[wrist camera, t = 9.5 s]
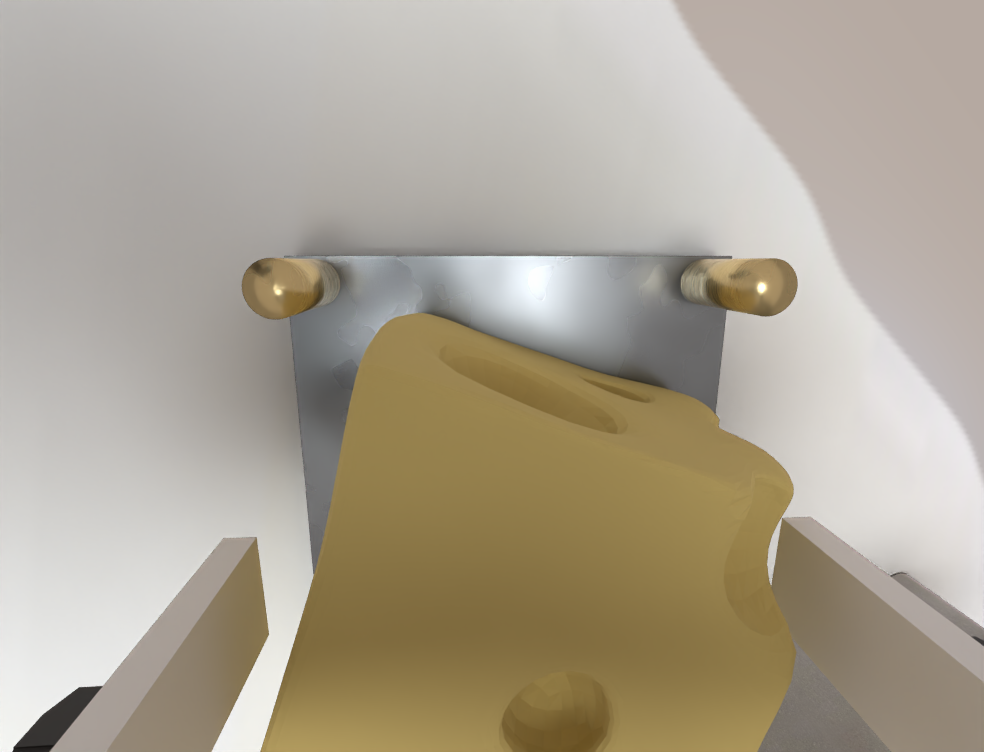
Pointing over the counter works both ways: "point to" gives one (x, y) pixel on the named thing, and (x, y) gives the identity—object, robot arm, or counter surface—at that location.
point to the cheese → (535, 564)
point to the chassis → (506, 322)
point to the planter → (837, 698)
